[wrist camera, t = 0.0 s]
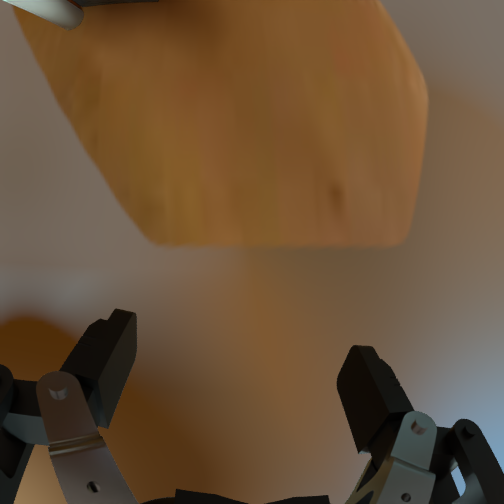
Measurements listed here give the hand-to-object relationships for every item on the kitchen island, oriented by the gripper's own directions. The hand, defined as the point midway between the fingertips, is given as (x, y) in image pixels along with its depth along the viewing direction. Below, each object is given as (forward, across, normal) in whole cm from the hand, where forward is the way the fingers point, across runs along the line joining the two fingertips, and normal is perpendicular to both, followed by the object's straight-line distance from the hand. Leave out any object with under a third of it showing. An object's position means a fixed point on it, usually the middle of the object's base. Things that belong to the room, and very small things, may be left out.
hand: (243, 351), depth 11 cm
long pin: (+29, +29, -23) cm, 47 cm away
